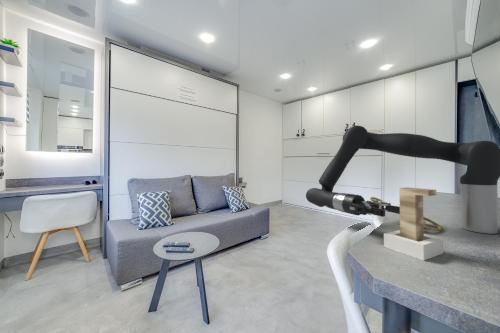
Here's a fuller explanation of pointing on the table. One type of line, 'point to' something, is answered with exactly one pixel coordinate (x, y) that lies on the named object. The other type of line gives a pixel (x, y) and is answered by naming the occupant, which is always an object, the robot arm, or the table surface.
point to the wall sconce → (423, 217)
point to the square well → (414, 245)
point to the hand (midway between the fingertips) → (392, 211)
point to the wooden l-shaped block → (413, 212)
